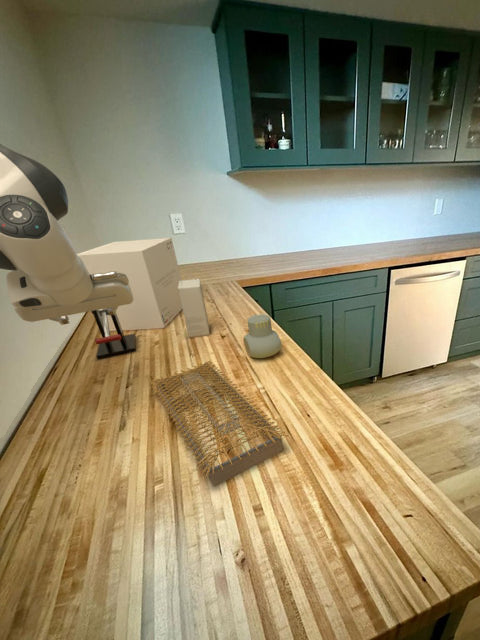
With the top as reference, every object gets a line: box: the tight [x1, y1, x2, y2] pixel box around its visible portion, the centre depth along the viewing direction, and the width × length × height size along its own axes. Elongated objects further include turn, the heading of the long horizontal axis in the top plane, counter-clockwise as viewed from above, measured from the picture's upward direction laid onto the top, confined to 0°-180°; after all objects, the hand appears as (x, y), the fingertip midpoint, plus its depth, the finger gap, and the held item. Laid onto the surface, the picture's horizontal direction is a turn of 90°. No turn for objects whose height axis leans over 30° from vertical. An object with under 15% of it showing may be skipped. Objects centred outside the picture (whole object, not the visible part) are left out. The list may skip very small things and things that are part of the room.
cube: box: [76, 237, 183, 332], centre depth 117 cm, size 25×21×24 cm
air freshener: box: [242, 313, 283, 359], centre depth 88 cm, size 11×8×10 cm
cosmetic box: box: [178, 278, 210, 338], centre depth 103 cm, size 8×7×16 cm
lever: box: [94, 308, 121, 345], centre depth 92 cm, size 13×6×2 cm, turn 25°
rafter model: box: [148, 360, 290, 487], centre depth 65 cm, size 35×14×6 cm, turn 34°
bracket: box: [90, 310, 137, 361], centre depth 97 cm, size 12×10×14 cm
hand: (89, 316), depth 74 cm, fingers open, 8 cm apart
